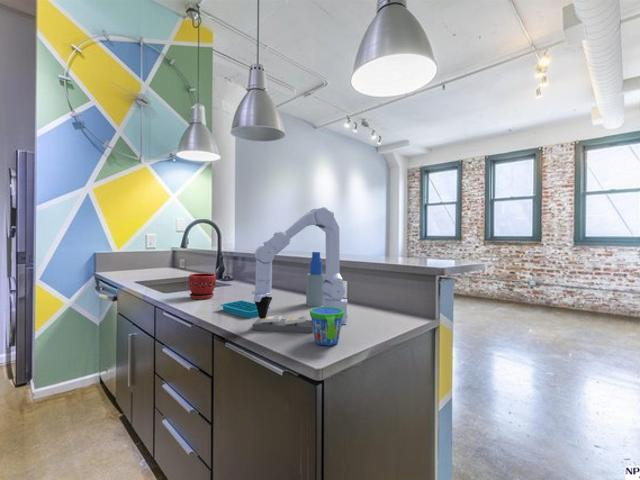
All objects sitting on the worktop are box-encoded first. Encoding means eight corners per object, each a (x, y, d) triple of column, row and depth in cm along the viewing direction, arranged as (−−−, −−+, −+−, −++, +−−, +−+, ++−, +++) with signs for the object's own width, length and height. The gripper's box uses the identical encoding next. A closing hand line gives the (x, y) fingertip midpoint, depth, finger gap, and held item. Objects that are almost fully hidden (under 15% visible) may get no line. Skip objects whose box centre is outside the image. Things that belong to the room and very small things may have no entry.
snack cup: (309, 334, 106) (309, 304, 106) (340, 334, 107) (340, 304, 107) (309, 351, 91) (310, 316, 91) (346, 351, 91) (346, 316, 91)
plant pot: (199, 301, 152) (199, 277, 152) (183, 298, 160) (183, 274, 159) (221, 297, 163) (221, 274, 163) (205, 294, 171) (205, 272, 170)
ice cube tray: (241, 306, 145) (241, 300, 145) (271, 314, 132) (271, 307, 132) (219, 311, 136) (219, 304, 136) (249, 320, 123) (249, 312, 123)
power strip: (314, 325, 116) (314, 318, 116) (311, 332, 108) (312, 324, 108) (259, 323, 118) (259, 315, 118) (252, 329, 110) (252, 321, 110)
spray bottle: (302, 304, 149) (302, 251, 148) (313, 301, 156) (314, 251, 156) (317, 307, 144) (318, 252, 143) (328, 304, 151) (329, 251, 150)
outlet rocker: (281, 318, 113) (281, 315, 113) (279, 321, 109) (279, 318, 109) (262, 319, 114) (262, 316, 114) (259, 322, 110) (259, 319, 110)
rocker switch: (306, 318, 112) (306, 315, 112) (305, 321, 108) (304, 318, 108) (287, 321, 113) (287, 318, 113) (285, 324, 109) (284, 321, 109)
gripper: (258, 276, 119) (257, 312, 119) (245, 282, 105) (244, 322, 105) (277, 277, 118) (276, 313, 119) (266, 283, 104) (265, 324, 104)
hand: (262, 317), depth 112 cm, fingers closed, pressing on outlet rocker
